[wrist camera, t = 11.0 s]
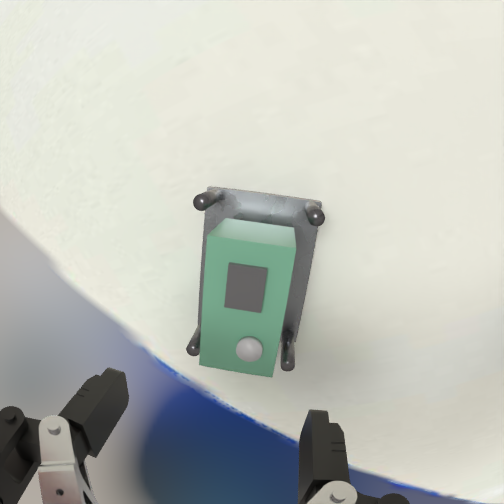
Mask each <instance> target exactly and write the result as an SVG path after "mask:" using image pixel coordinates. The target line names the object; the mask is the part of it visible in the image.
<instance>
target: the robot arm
mask: <svg viewBox="0 0 504 504" xmlns="http://www.w3.org/2000/svg"><path fill="white" fill-rule="evenodd" d="M128 401H129V395H128V388H127V382H126V376H125V373H124V372H121V371H119V370H115V369H112V368H107V369H106V370H105V371H104V372H103V374H102V375H101V376H99V375H95V376H93V377H91V378H90V379H88V380H87V381H86V382H85V383H84V384H83V385H82V387H81V389H79V390H78V391H77V393H76V395H74V396H73V398H72V399H71V400H70V401H69V403H68V404H67V405H66V406H65V407H64V409H63V410H62V411H61V413H60V414H59V415H58V416H56V415H52V416H48V417H46V418H44V419H43V420H36V419H32V418H27V417H25V416H24V414H23V412H22V411H21V410H20V409H19V408H17V407H14V406H9V407H5V408H3V409H2V410H1V411H0V504H17V503H18V501H19V499H20V498H21V496H22V494H23V493H24V491H25V489H26V487H27V486H28V484H29V482H30V481H31V479H32V477H33V475H34V474H35V472H36V471H37V469H38V475H39V482H40V489H41V495H42V500H43V504H98V503H97V500H96V498H95V496H94V493H93V490H92V486H91V482H90V479H89V475H88V471H87V467H86V463H85V458H86V456H87V455H90V456H93V457H95V458H96V457H97V455H98V454H99V452H100V450H101V449H102V447H103V445H104V444H105V442H106V440H107V439H108V437H109V436H110V434H111V432H112V430H113V429H114V427H115V426H116V424H117V422H118V421H119V419H120V417H121V416H122V414H123V413H124V411H125V409H126V408H127V405H128ZM41 463H42V465H40V464H41ZM298 504H409V501H408V500H407V499H406V498H405V497H404V496H402V495H400V494H395V493H392V494H387V495H385V496H383V497H382V498H381V499H380V498H375V497H371V496H367V495H363V494H361V493H359V492H357V491H356V490H355V488H354V487H353V486H352V485H351V483H350V479H349V472H348V462H347V454H346V446H345V439H344V432H343V431H342V429H341V428H340V426H339V425H338V423H329V417H328V412H327V411H322V410H309V412H308V414H307V417H306V420H305V423H304V426H303V428H302V431H301V435H300V441H299V483H298Z"/></svg>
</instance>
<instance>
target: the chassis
mask: <svg viewBox="0 0 504 504" xmlns="http://www.w3.org/2000/svg"><path fill="white" fill-rule="evenodd" d="M321 203H322V202H321V201H317V200H310V199H304V198H297V197H290V196H283V195H276V194H269V193H261V192H253V191H245V190H237V189H228V188H220V187H207V192H204V193H202V194H199V195H197V196H196V197H195V198H194V200H193V204H194V207H195V208H196V209H197V210H199V211H203V210H205V220H204V232H203V245H202V260H201V275H200V292H199V311H198V327H197V329H196V331H195V333H194V335H193V336H192V338H191V340H190V342H189V344H188V346H187V348H186V350H187V353H188V354H189V355H191V356H197V355H198V354H199V353H200V337H201V318H202V301H203V286H204V271H205V258H206V245H207V235H208V234H209V233H210V232H211V231H212V230H213V229H214V228H215V227H217V226H218V225H219V224H220V223H221V222H222V221H223V220H224V219H225V218H229V219H237V220H244V221H251V222H258V223H265V224H272V225H279V226H286V227H293V228H294V232H295V241H296V253H295V259H294V265H293V271H292V277H291V282H290V288H289V293H288V299H287V304H286V310H285V315H284V320H283V326H282V331H281V336H280V340H282V349H281V369H282V370H284V371H291V370H293V369H294V367H295V357H294V342H296V337H297V333H298V328H299V323H300V319H301V314H302V309H303V304H304V299H305V294H306V289H307V284H308V279H309V273H310V268H311V263H312V257H313V251H314V246H315V240H316V234H317V228H318V226H320V225H322V224H323V222H324V220H325V216H324V214H323V212H322V211H321Z"/></svg>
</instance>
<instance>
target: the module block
mask: <svg viewBox="0 0 504 504" xmlns="http://www.w3.org/2000/svg"><path fill="white" fill-rule="evenodd" d="M295 253H296V241H295V232H294V228H293V227H286V226H279V225H272V224H265V223H258V222H251V221H244V220H237V219H229V218H225V219H224V220H223V221H222V222H221V223H220V224H219V225H218V226H217V227H215V228H214V229H213V230H212V231H211V232H210V233H209V234H208V235H207V245H206V258H205V271H204V286H203V301H202V318H201V337H200V360H199V365H202V366H207V367H212V368H217V369H223V370H228V371H234V372H240V373H246V374H252V375H259V376H266V377H272V375H273V371H274V366H275V361H276V356H277V351H278V346H279V341H280V336H281V331H282V326H283V320H284V315H285V310H286V304H287V299H288V293H289V288H290V282H291V277H292V271H293V265H294V259H295Z"/></svg>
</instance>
